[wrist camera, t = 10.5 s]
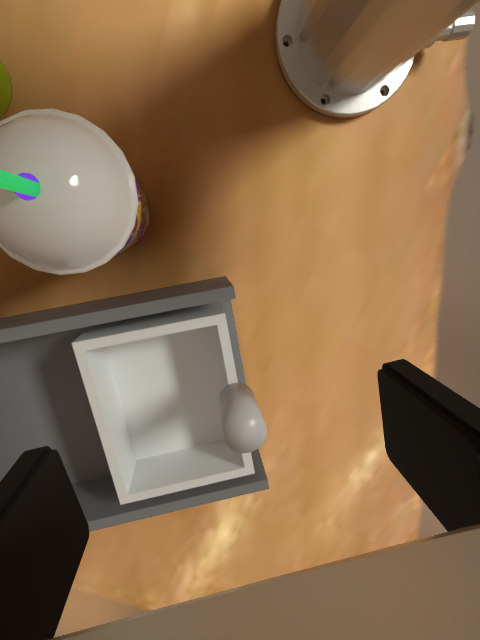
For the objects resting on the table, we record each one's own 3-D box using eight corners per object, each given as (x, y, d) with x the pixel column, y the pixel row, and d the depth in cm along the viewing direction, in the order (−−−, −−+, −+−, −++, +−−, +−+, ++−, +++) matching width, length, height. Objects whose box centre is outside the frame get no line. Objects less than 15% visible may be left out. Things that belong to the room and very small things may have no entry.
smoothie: (179, 216, 33) (159, 187, 14) (115, 278, 33) (7, 334, 14) (110, 141, 31) (-29, -19, 11) (43, 208, 31) (-199, 163, 12)
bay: (225, 276, 35) (233, 285, 28) (256, 445, 39) (269, 488, 33) (-77, 332, 32) (-148, 357, 26) (-6, 505, 37) (-51, 564, 30)
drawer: (231, 298, 34) (249, 327, 23) (255, 435, 38) (281, 517, 27) (92, 324, 33) (41, 368, 22) (131, 463, 37) (105, 560, 26)
